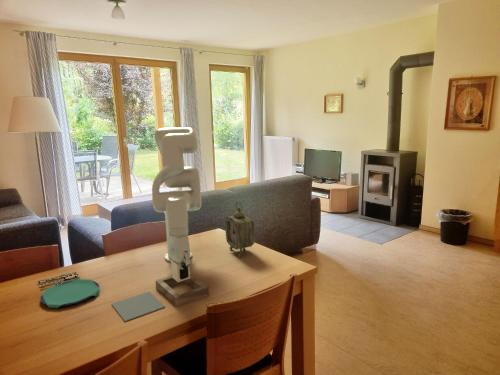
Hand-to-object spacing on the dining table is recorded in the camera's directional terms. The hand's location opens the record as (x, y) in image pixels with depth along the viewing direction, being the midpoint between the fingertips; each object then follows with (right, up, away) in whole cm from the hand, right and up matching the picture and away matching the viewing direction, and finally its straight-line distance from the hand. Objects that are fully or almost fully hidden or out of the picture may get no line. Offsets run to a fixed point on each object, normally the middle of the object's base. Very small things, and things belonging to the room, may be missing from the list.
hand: (180, 275), depth 135 cm
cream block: (0, -1, 0) cm, 1 cm away
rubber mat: (-13, -9, -9) cm, 18 cm away
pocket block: (0, -6, +1) cm, 6 cm away
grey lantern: (+22, +2, +38) cm, 43 cm away
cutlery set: (-44, -7, +3) cm, 45 cm away
